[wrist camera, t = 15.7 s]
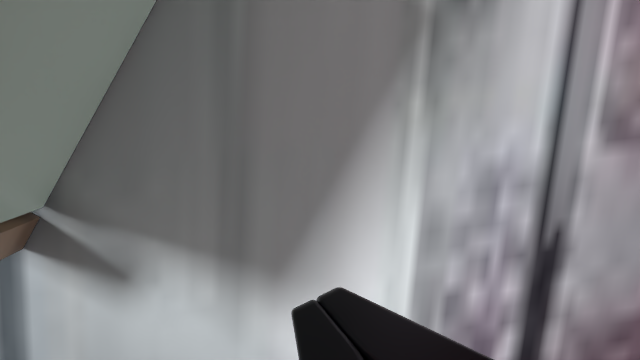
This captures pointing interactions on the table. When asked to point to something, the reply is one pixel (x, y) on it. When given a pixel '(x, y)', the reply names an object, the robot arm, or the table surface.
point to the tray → (54, 86)
